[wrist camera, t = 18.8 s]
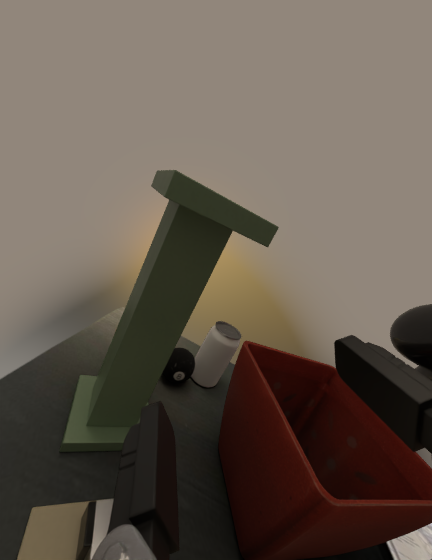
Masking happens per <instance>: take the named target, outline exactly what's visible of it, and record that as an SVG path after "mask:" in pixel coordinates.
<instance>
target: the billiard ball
mask: <svg viewBox="0 0 432 560" xmlns="http://www.w3.org/2000/svg"><path fill="white" fill-rule="evenodd" d="M194 369H195V359H194V357H193V355H192V354H191V353H190V352H189V351H188V350H186V349H184V348H175V349H174V350H173V352H172V354H171V356H170V358H169V360H168V362H167V364H166V366H165V368H164V370H163V374H164V375H165V377H166V378H167V379H168V380H170V381H171V382H174V383H181V382H184V381H186V380H188V379H189V378H190V377H191V375H192V374H193V372H194Z"/></svg>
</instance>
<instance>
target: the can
mask: <svg viewBox="0 0 432 560" xmlns="http://www.w3.org/2000/svg"><path fill="white" fill-rule="evenodd" d="M240 338H241V334H240V332H239V331H238V330H237V329H236V328H235V327H233V326H232V325H230V324H228V323H226V322H221V321H218V322H216V325H214V326H213V327H212V328H211V329H210V331H209V333H208V334H207V336H206V338H205V340H204V342H203V344H202V345H201V347H200V349H199V351H198V353H197V355H196V357H195V369H194V372H193V374H192V375H191V378H192V379H193V380H194V381H195V382H196V383H197V384H198V385H200V386H202V387H207V388H209V387H213V386H215V385H216V384H217V382H218V381H219V379H220V377H221V376H222V374H223V372H224V370H225V369H226V367H227V365H228V364H229V362H230V360H231V358H232V356H233V355H234V353H235V351H236V349H237V348H238V346H239V343H240Z"/></svg>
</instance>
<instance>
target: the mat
mask: <svg viewBox="0 0 432 560" xmlns="http://www.w3.org/2000/svg"><path fill="white" fill-rule="evenodd" d="M105 500H106V499H105ZM96 501H97V500H96ZM89 502H91V501H87V502H78V503H69V504H60V505H51V506H42V507H33V508H32V510H31V513H30V517H29V520H28V524H27V527H26V530H25V534H24V537H23V540H22V544H21V547H20V550H19V554H18V557H17V560H76V553H77V546H78V539H79V532H80V525H81V518H82V516H83V514H84V512H85V510H86V507H87V505H88V503H89Z"/></svg>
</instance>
